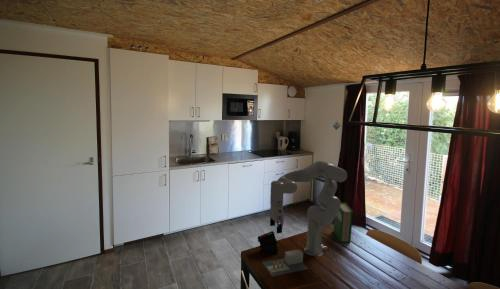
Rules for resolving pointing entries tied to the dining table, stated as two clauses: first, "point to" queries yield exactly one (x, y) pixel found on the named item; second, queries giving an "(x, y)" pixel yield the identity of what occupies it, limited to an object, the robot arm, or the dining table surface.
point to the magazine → (268, 243)
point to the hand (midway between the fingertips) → (275, 229)
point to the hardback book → (343, 223)
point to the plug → (294, 256)
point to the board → (282, 267)
